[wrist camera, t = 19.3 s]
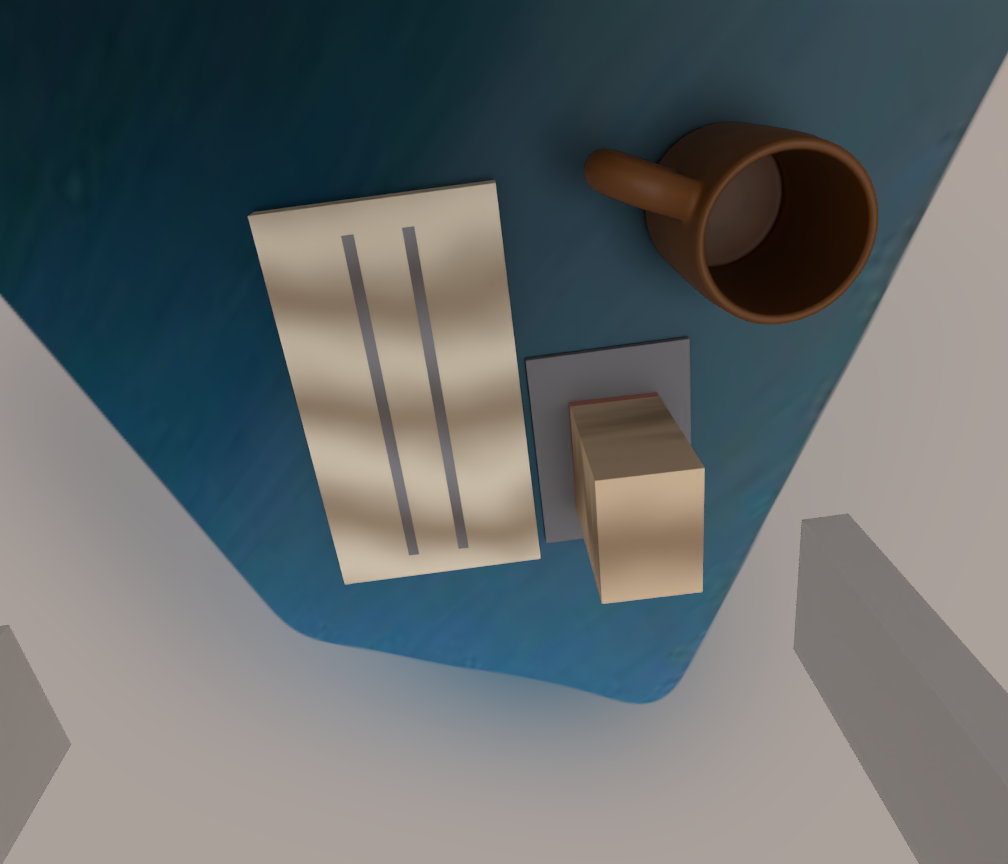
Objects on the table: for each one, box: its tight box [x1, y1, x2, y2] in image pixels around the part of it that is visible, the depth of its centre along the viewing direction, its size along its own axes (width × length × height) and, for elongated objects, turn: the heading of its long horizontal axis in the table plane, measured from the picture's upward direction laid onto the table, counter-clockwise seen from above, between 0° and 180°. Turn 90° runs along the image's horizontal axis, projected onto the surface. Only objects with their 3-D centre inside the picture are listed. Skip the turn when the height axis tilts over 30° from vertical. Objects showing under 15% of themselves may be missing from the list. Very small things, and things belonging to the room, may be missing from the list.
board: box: [248, 180, 541, 584], centre depth 41 cm, size 22×12×1 cm, turn 7°
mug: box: [584, 122, 878, 324], centre depth 33 cm, size 12×8×9 cm, turn 72°
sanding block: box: [569, 392, 705, 604], centre depth 39 cm, size 7×5×9 cm
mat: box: [525, 337, 691, 543], centre depth 44 cm, size 12×9×1 cm
